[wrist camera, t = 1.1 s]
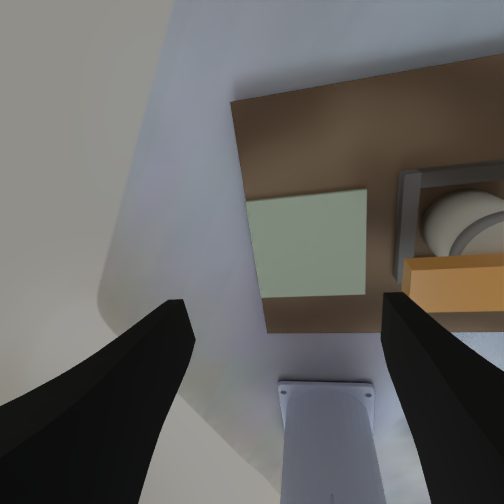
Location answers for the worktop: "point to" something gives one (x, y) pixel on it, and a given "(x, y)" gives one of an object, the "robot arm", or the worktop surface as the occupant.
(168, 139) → the worktop surface
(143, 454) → the robot arm
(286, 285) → the sage mat
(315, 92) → the board
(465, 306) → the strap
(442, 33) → the worktop surface
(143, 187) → the worktop surface
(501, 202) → the plug
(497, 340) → the worktop surface
